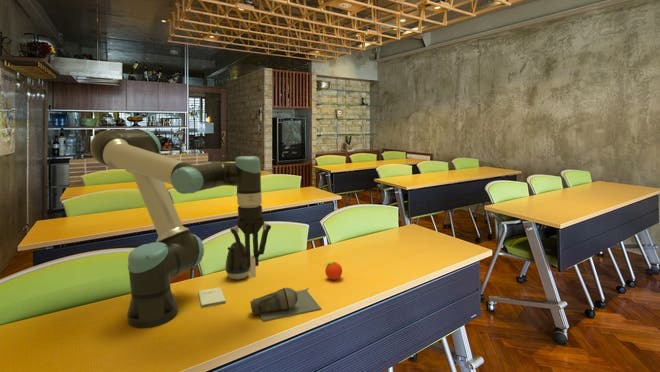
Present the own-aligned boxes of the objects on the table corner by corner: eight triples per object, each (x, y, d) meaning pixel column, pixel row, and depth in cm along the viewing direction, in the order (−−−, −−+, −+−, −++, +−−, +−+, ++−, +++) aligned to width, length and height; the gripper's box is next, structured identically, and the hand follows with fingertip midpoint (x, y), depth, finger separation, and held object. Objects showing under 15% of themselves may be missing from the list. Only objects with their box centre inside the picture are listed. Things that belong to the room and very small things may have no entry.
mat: (262, 321, 119) (262, 320, 119) (253, 300, 134) (253, 299, 133) (321, 309, 127) (321, 308, 126) (305, 290, 141) (305, 289, 141)
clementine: (322, 282, 148) (322, 265, 147) (323, 275, 155) (322, 259, 154) (342, 282, 148) (342, 265, 147) (342, 275, 155) (342, 259, 154)
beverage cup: (253, 319, 119) (313, 302, 123) (248, 296, 121) (308, 280, 125) (254, 319, 125) (311, 303, 130) (249, 297, 127) (306, 282, 132)
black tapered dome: (220, 279, 152) (218, 243, 149) (237, 270, 161) (236, 236, 158) (239, 284, 147) (237, 247, 145) (256, 275, 156) (255, 240, 154)
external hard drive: (201, 309, 128) (198, 294, 140) (226, 304, 132) (220, 290, 143) (201, 305, 128) (198, 290, 139) (225, 300, 132) (220, 286, 143)
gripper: (230, 209, 112) (234, 283, 116) (272, 205, 117) (275, 276, 121) (227, 204, 119) (230, 274, 123) (267, 201, 124) (269, 268, 128)
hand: (252, 275), depth 122 cm, fingers closed
